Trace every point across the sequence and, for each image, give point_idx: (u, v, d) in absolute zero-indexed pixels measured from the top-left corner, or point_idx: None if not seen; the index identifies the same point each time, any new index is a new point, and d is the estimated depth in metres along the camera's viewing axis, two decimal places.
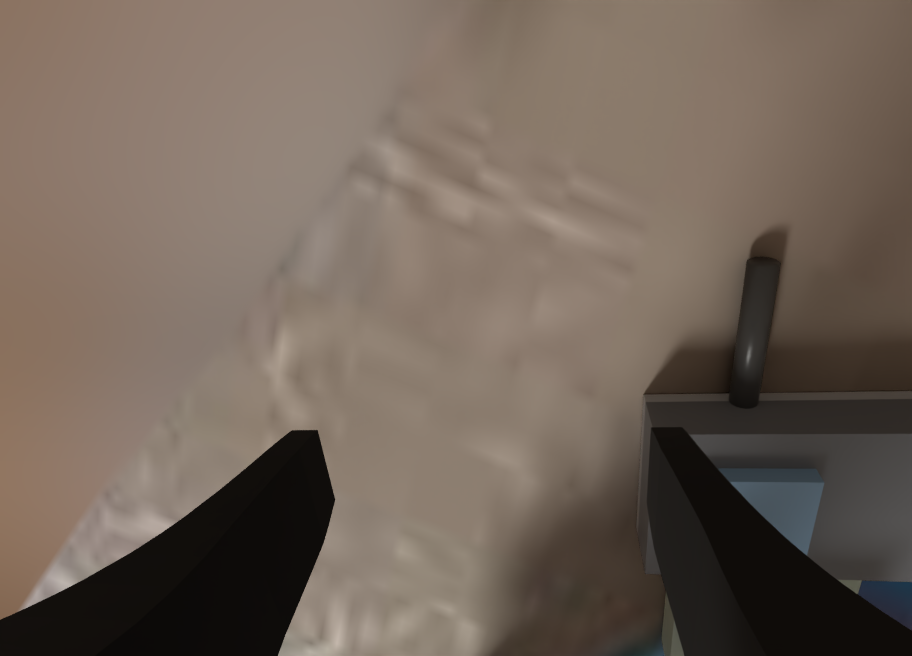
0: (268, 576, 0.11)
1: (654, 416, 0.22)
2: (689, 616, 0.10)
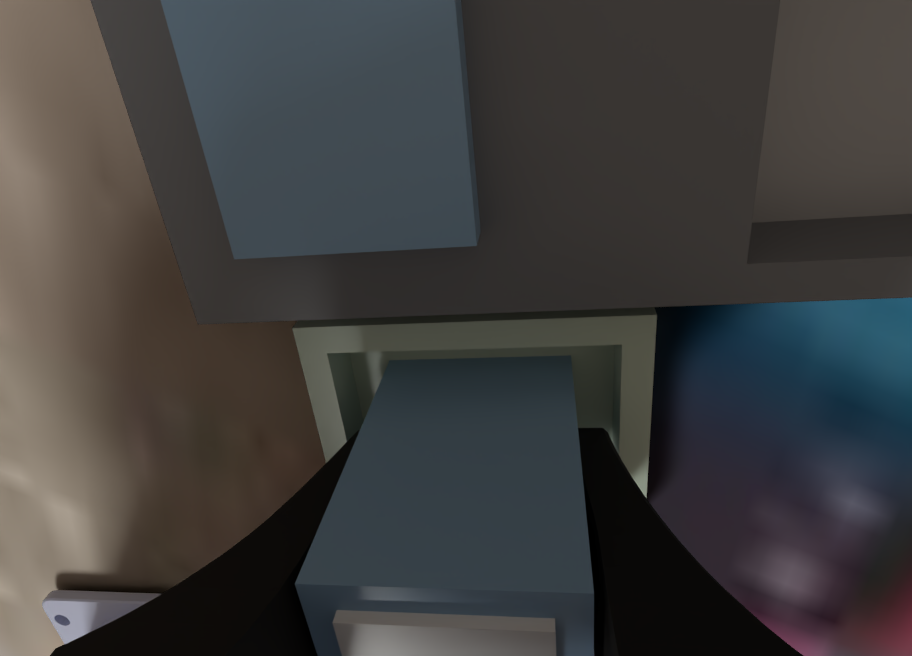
0: None
1: None
2: (594, 612, 0.10)
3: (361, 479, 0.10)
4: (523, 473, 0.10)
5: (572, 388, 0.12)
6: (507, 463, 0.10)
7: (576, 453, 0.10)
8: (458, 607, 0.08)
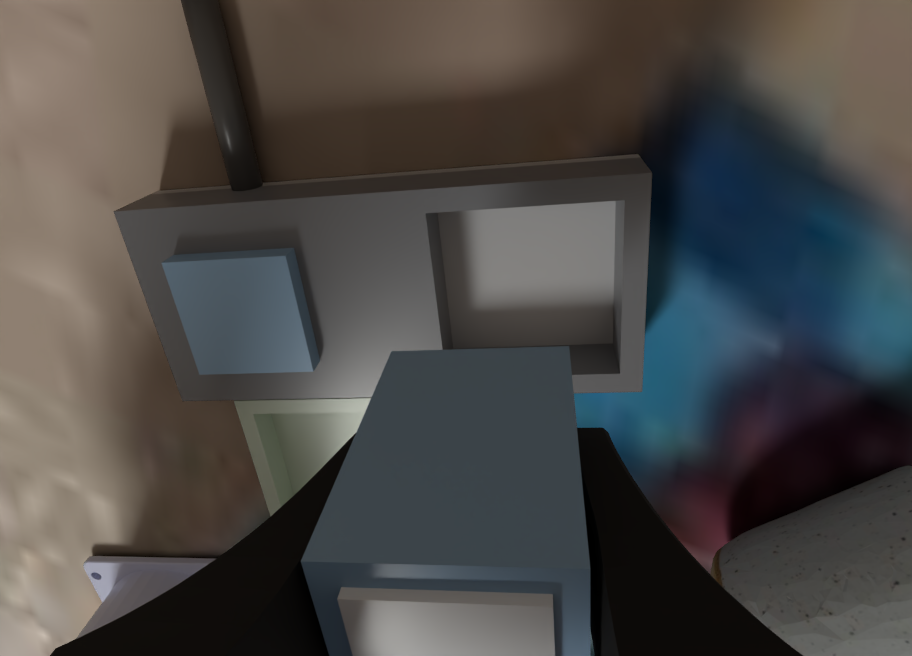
0: None
1: (139, 201, 0.19)
2: (594, 611, 0.10)
3: (364, 463, 0.10)
4: (522, 457, 0.10)
5: (570, 377, 0.12)
6: (507, 448, 0.10)
7: (574, 438, 0.10)
8: (459, 583, 0.08)
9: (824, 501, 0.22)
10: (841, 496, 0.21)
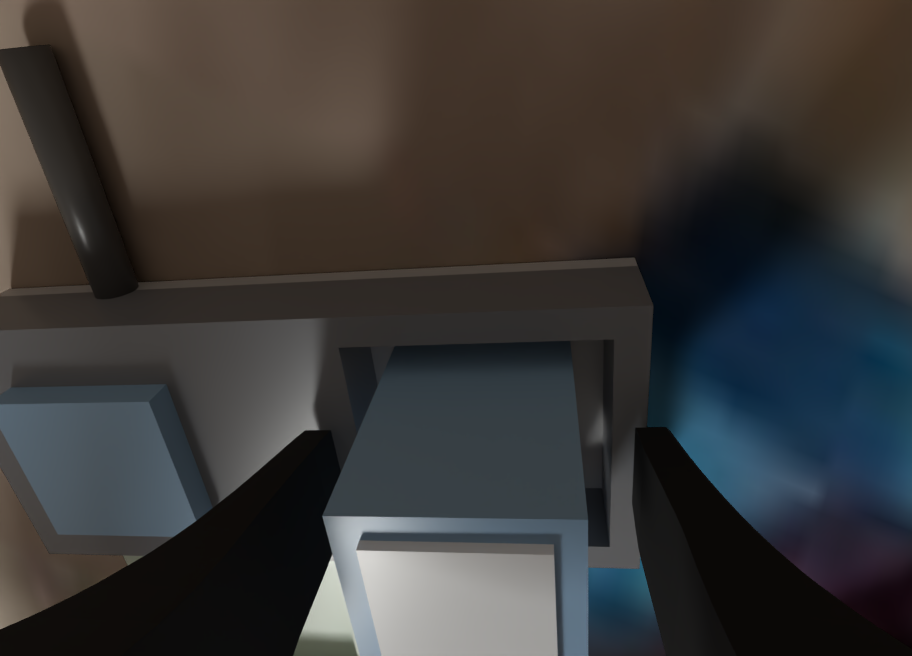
0: (283, 576, 0.11)
1: None
2: (670, 615, 0.10)
3: (378, 432, 0.11)
4: (525, 425, 0.11)
5: (570, 355, 0.13)
6: (511, 417, 0.11)
7: (573, 408, 0.11)
8: (468, 535, 0.09)
9: None
10: None
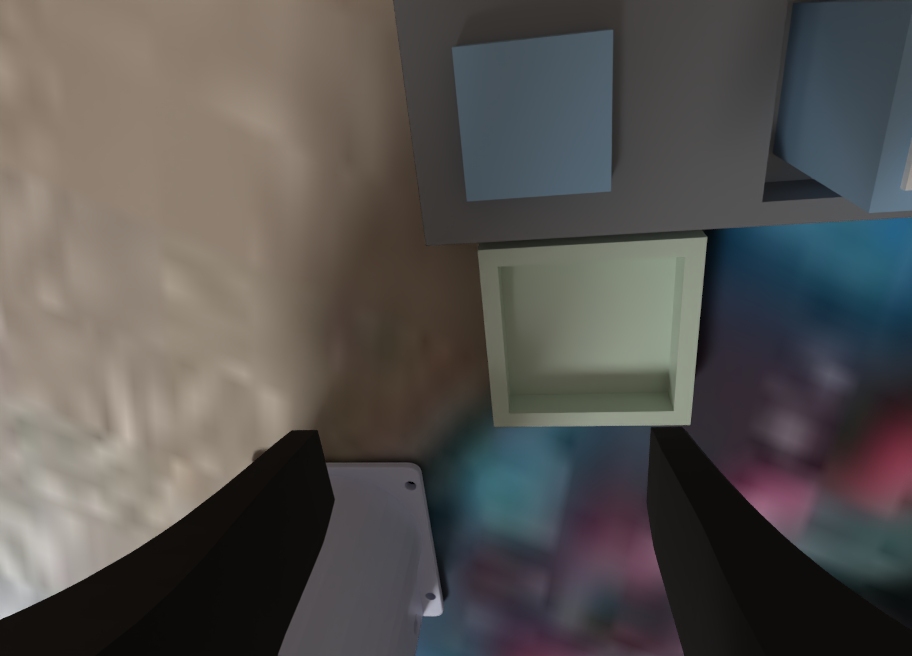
0: (267, 576, 0.11)
1: None
2: (689, 616, 0.10)
3: None
4: None
5: None
6: None
7: None
8: None
9: None
10: None
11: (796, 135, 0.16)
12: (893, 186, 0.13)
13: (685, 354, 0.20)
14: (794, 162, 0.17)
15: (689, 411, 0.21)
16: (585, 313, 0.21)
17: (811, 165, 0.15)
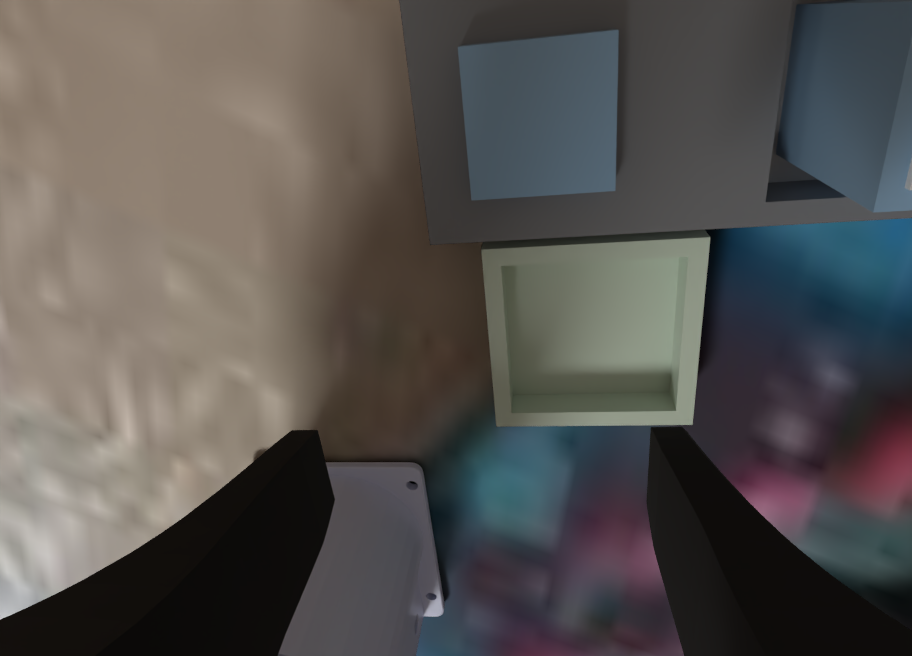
0: (267, 576, 0.11)
1: None
2: (689, 615, 0.10)
3: (885, 0, 0.13)
4: None
5: None
6: None
7: None
8: None
9: None
10: None
11: (799, 135, 0.16)
12: (897, 186, 0.13)
13: (687, 354, 0.20)
14: (798, 162, 0.17)
15: (691, 411, 0.21)
16: (588, 313, 0.21)
17: (815, 165, 0.16)
